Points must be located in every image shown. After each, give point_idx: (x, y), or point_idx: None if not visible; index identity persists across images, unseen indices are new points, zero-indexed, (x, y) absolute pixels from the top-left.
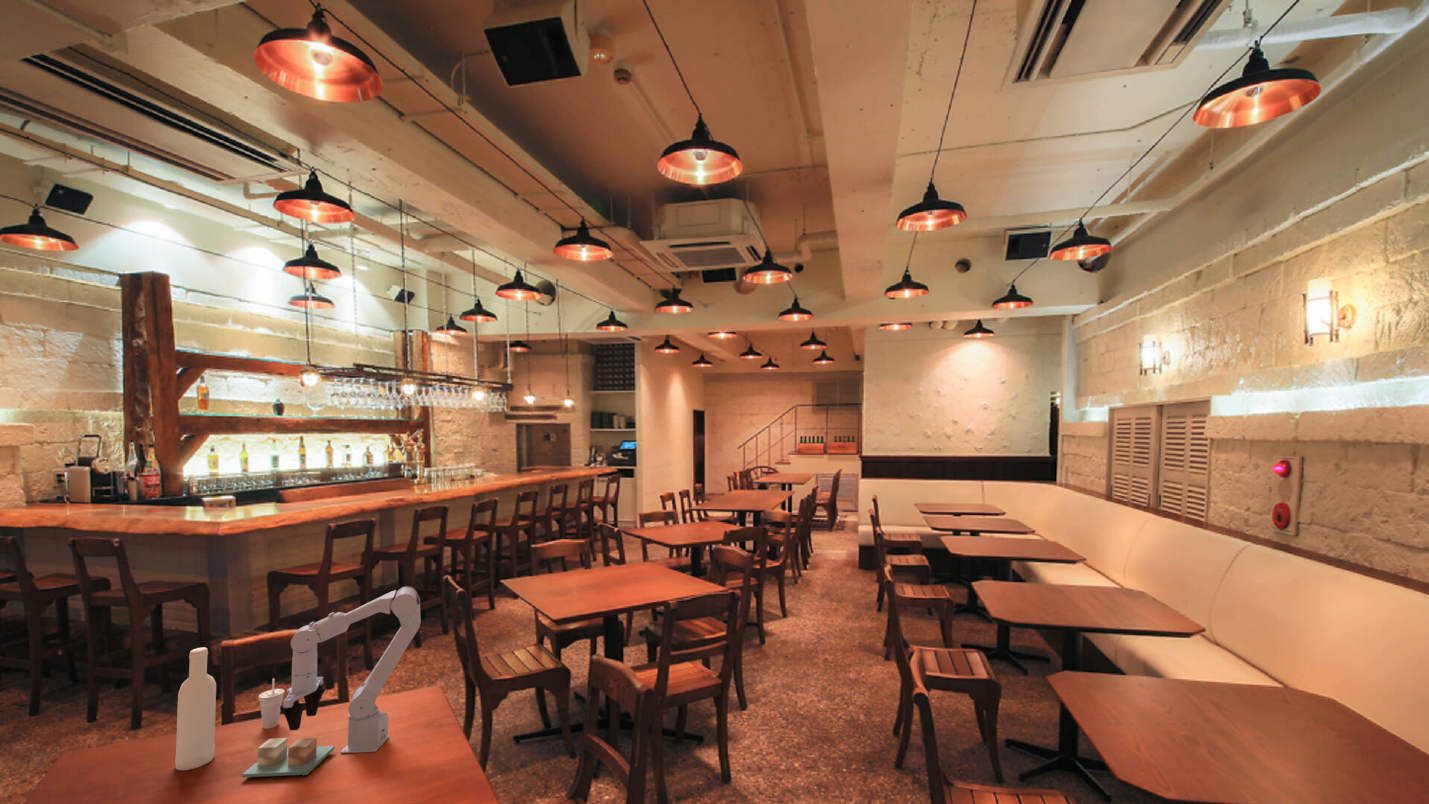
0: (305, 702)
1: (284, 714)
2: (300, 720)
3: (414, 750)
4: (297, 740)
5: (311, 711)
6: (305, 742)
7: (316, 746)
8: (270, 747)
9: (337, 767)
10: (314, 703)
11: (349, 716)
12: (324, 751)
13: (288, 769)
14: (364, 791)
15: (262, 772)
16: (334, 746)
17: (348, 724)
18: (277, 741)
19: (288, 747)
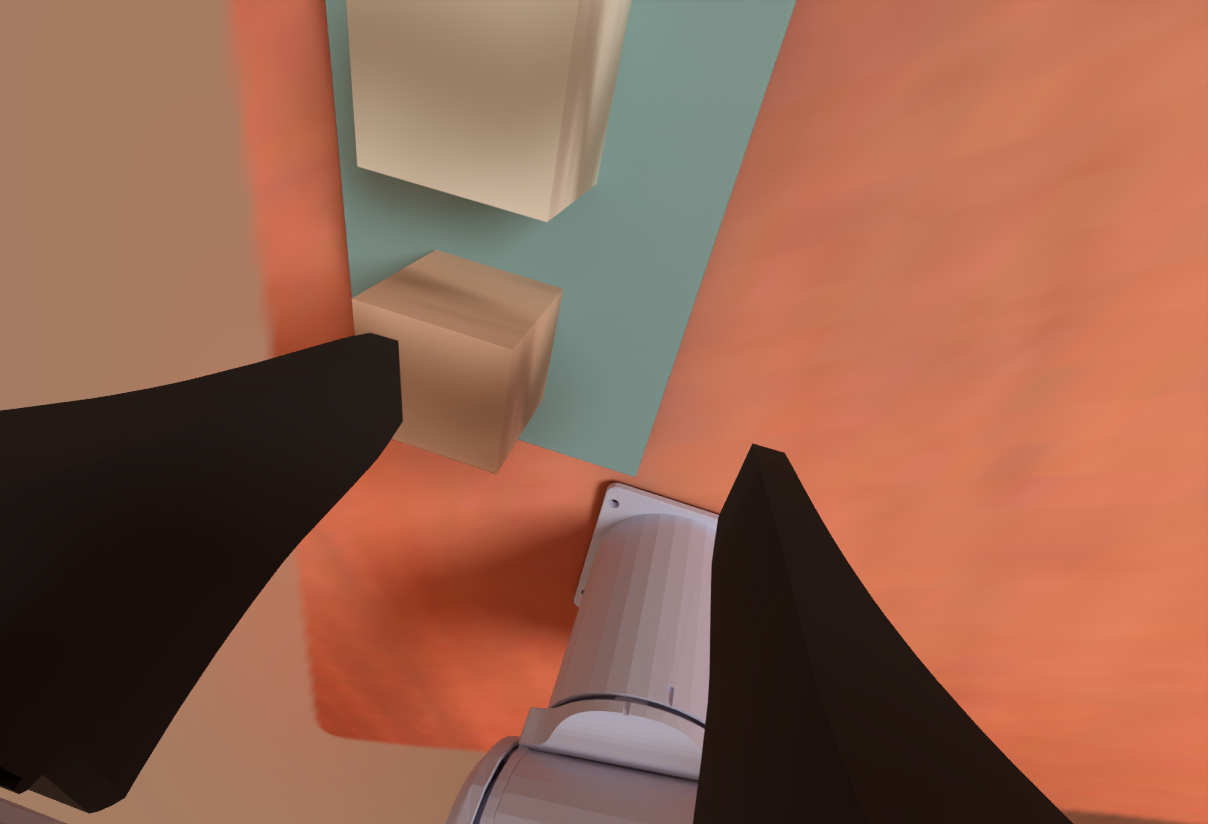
0: (787, 597)
1: (19, 419)
2: (317, 505)
3: (553, 685)
4: (472, 342)
5: (731, 534)
6: (429, 412)
7: (521, 431)
8: (354, 96)
9: (474, 477)
10: (723, 668)
11: (576, 714)
12: (574, 435)
13: (380, 273)
14: (301, 562)
15: (341, 75)
16: (635, 474)
17: (612, 643)
18: (479, 128)
19: (352, 299)
